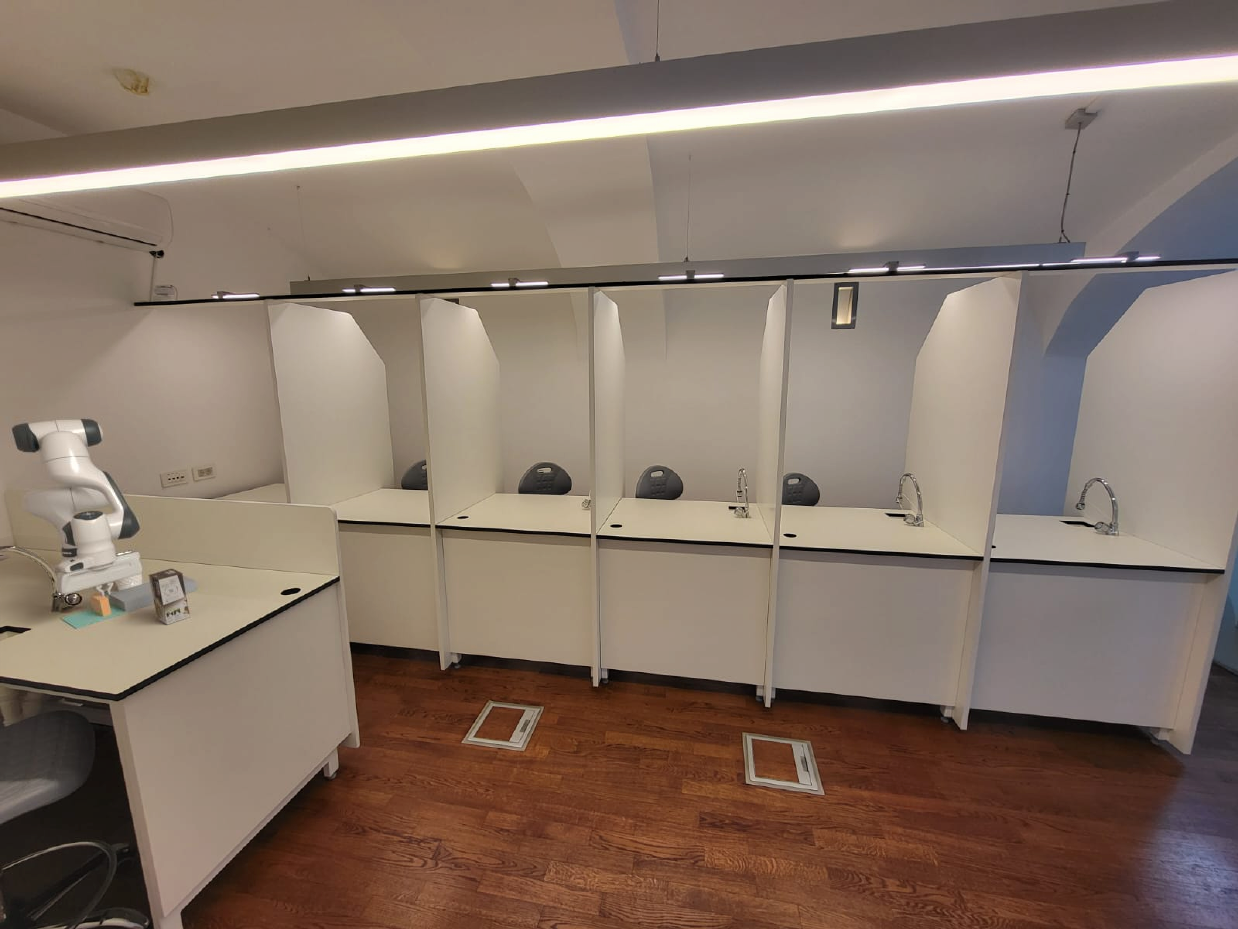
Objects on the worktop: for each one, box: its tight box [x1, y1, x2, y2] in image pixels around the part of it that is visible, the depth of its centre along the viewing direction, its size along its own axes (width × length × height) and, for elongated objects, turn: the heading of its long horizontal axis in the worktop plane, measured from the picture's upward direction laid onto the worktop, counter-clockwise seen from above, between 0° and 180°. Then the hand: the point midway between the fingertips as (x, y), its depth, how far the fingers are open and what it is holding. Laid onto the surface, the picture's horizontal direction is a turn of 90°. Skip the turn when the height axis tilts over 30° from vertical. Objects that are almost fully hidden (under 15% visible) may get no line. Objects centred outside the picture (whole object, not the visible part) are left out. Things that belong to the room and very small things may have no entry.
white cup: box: [114, 572, 144, 591], centre depth 184 cm, size 8×8×10 cm
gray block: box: [107, 575, 198, 614], centre depth 177 cm, size 14×20×4 cm
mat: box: [60, 603, 126, 629], centre depth 163 cm, size 14×12×1 cm
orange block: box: [89, 592, 112, 617], centre depth 164 cm, size 9×6×2 cm
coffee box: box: [148, 568, 191, 625], centre depth 160 cm, size 9×6×16 cm
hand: (105, 595), depth 165 cm, fingers closed
